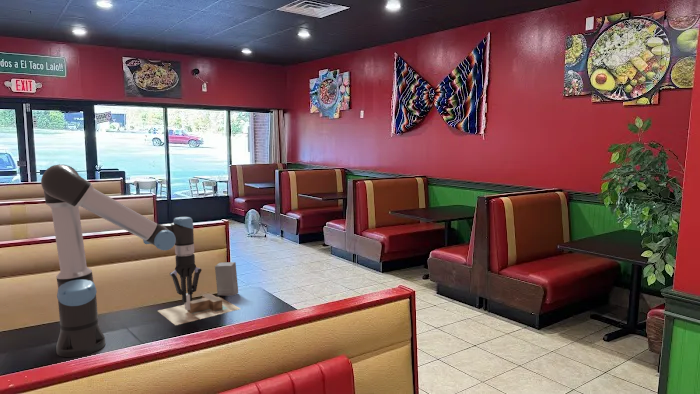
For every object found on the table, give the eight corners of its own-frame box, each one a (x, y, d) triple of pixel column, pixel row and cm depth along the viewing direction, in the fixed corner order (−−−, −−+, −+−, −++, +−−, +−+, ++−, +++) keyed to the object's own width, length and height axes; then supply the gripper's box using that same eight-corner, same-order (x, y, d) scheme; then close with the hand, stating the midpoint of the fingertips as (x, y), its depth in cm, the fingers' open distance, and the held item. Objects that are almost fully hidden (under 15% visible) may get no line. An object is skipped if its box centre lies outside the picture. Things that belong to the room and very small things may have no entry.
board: (175, 328, 185) (175, 325, 185) (157, 313, 202) (157, 310, 202) (241, 311, 203) (241, 308, 203) (219, 299, 220) (219, 296, 220)
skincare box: (238, 293, 228) (237, 261, 226) (233, 298, 221) (232, 265, 219) (221, 293, 229) (220, 261, 227) (216, 298, 221) (214, 265, 220)
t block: (194, 315, 195) (194, 306, 195) (184, 308, 204) (183, 299, 204) (222, 309, 203) (222, 300, 202) (211, 302, 212) (210, 293, 212)
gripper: (172, 258, 190) (175, 315, 192) (203, 253, 198) (206, 308, 200) (166, 255, 195) (169, 310, 198) (196, 250, 204) (199, 303, 206)
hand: (187, 309), depth 199 cm, fingers closed
